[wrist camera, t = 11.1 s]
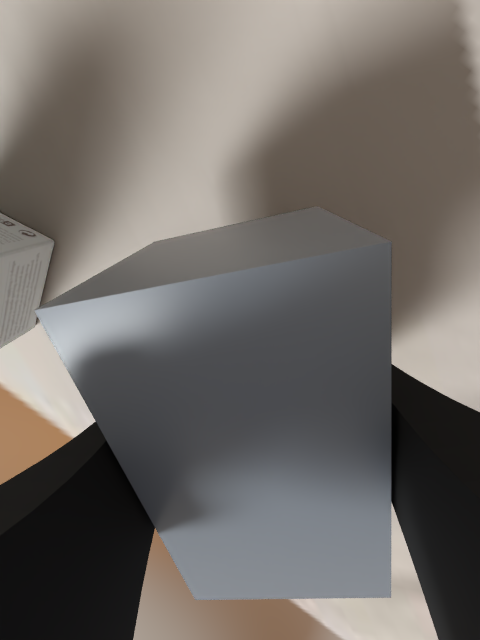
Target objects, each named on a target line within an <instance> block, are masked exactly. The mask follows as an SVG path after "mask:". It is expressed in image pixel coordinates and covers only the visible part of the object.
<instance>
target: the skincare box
mask: <svg viewBox="0 0 480 640" xmlns="http://www.w3.org/2000/svg"><path fill="white" fill-rule="evenodd" d="M53 247H54V241H53V240H52V239H50V238H48V237H46V236H44V235H43V234H41V233H39V232H37V231H35V230H33V229H31V228H29V227H27V226H25V225H23V224H21V223H19V222H17V221H15V220H13V219H11V218H9V217H7V216H5V215H3V214H2V213H0V348H2V347H3V346H5V345H7V344H8V343H10V342H12V341H13V340H15V339H17V338H18V337H20V336H22V335H23V334H25V333H26V332H28V331H30V330H31V329H33V328H34V327H35V323H36V319H37V315H36V313H35V311H34V310H35V309H37V308H39V306H40V301H41V297H42V293H43V289H44V284H45V280H46V276H47V272H48V267H49V263H50V259H51V254H52V250H53Z"/></svg>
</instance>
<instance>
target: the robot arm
mask: <svg viewBox="0 0 480 640" xmlns="http://www.w3.org/2000/svg"><path fill="white" fill-rule="evenodd" d="M391 502H392V504H393V507H394V510H395V512H396V515H397V518H398V521H399V524H400V526H401V529H402V532H403V535H404V538H405V541H406V543H407V546H408V549H409V552H410V555H411V558H412V561H413V564H414V567H415V570H416V573H417V576H418V579H419V581H420V584H421V587H422V590H423V593H424V596H425V599H426V603H427V606H428V609H429V612H430V615H431V618H432V621H433V624H434V627H435V630H436V633H437V636H438V639H439V640H480V412H478V411H476V410H474V409H471V408H469V407H467V406H465V405H463V404H461V403H459V402H457V401H455V400H453V399H451V398H449V397H447V396H445V395H443V394H441V393H439V392H438V391H436V390H434V389H432V388H430V387H429V386H427V385H425V384H423V383H421V382H420V381H418V380H416V379H415V378H413V377H411V376H410V375H408V374H406V373H405V372H403V371H402V370H400V369H399V368H397V367H395V366H394V365H392V364H391ZM154 529H155V526H154V525H153V523H152V521H151V519H150V518H149V516H148V514H147V512H146V510H145V509H144V507H143V505H142V503H141V501H140V500H139V498H138V496H137V494H136V492H135V491H134V489H133V487H132V485H131V483H130V482H129V480H128V478H127V476H126V474H125V473H124V471H123V469H122V467H121V465H120V464H119V462H118V460H117V458H116V457H115V455H114V453H113V451H112V449H111V448H110V446H109V444H108V442H107V440H106V439H105V437H104V435H103V433H102V431H101V430H100V428H99V426H98V424H97V422H94V423H93V424H92V425H91V426H89V427H88V428H87V429H86V430H84V431H83V432H82V433H80V434H79V435H78V436H76V437H75V438H74V439H72V440H71V441H69V442H68V443H67V444H65V445H64V446H62V447H61V448H59V449H58V450H56V451H55V452H53V453H52V454H50V455H49V456H48V457H46V458H44V459H43V460H41V461H40V462H38V463H36V464H35V465H33V466H31V467H30V468H28V469H26V470H25V471H23V472H21V473H20V474H18V475H16V476H15V477H13V478H11V479H10V480H8V481H7V482H5V483H3V484H1V485H0V640H133V637H134V630H135V625H136V619H137V614H138V608H139V602H140V597H141V591H142V586H143V581H144V576H145V571H146V565H147V561H148V556H149V551H150V547H151V543H152V538H153V534H154Z"/></svg>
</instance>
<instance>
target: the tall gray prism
mask: <svg viewBox="0 0 480 640" xmlns="http://www.w3.org/2000/svg"><path fill="white" fill-rule="evenodd" d="M391 275H392V241H390V240H387V239H385V238H383V237H381V236H379V235H377V234H375V233H373V232H371V231H369V230H367V229H364V228H362V227H360V226H358V225H356V224H354V223H352V222H350V221H348V220H346V219H344V218H341V217H339V216H337V215H335V214H333V213H331V212H329V211H327V210H325V209H323V208H321V207H318V206H316V207H311V208H307V209H302V210H297V211H293V212H288V213H284V214H279V215H275V216H270V217H265V218H261V219H256V220H252V221H247V222H243V223H238V224H233V225H229V226H224V227H220V228H215V229H210V230H206V231H201V232H197V233H192V234H188V235H183V236H178V237H174V238H169V239H165V240H160V241H156V242H153V243H152V244H150V245H148V246H146V247H145V248H143V249H141V250H139V251H138V252H136V253H134V254H132V255H131V256H129V257H127V258H125V259H123V260H122V261H120V262H118V263H116V264H115V265H113V266H111V267H109V268H108V269H106V270H104V271H102V272H101V273H99V274H97V275H95V276H94V277H92V278H90V279H88V280H86V281H85V282H83V283H81V284H79V285H78V286H76V287H74V288H72V289H71V290H69V291H67V292H65V293H64V294H62V295H60V296H58V297H56V298H55V299H53V300H51V301H49V302H48V303H46V304H44V305H42V306H41V307H39V308H37V309H35V310H34V311H35V313H36V315H37V317H38V318H39V320H40V322H41V324H42V326H43V327H44V329H45V331H46V333H47V335H48V336H49V338H50V340H51V342H52V344H53V345H54V347H55V349H56V351H57V352H58V354H59V356H60V358H61V360H62V361H63V363H64V365H65V367H66V369H67V370H68V372H69V374H70V376H71V378H72V379H73V381H74V383H75V385H76V387H77V388H78V390H79V392H80V394H81V396H82V397H83V399H84V401H85V403H86V404H87V406H88V408H89V410H90V412H91V413H92V415H93V417H94V419H95V421H96V422H97V424H98V426H99V428H100V430H101V431H102V433H103V435H104V437H105V439H106V440H107V442H108V444H109V446H110V448H111V449H112V451H113V453H114V455H115V457H116V458H117V460H118V462H119V464H120V465H121V467H122V469H123V471H124V473H125V474H126V476H127V478H128V480H129V482H130V483H131V485H132V487H133V489H134V491H135V492H136V494H137V496H138V498H139V500H140V501H141V503H142V505H143V507H144V509H145V510H146V512H147V514H148V516H149V518H150V519H151V521H152V523H153V525H154V526H155V528H156V530H157V532H158V534H159V535H160V537H161V539H162V540H163V543H164V544H165V546H166V548H167V550H168V551H169V553H170V555H171V557H172V559H173V560H174V562H175V564H176V566H177V568H178V570H179V571H180V573H181V575H182V577H183V578H184V580H185V582H186V584H187V586H188V587H189V589H190V591H191V593H192V595H193V596H194V598H195V600H212V599H213V600H219V599H308V598H391Z"/></svg>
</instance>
